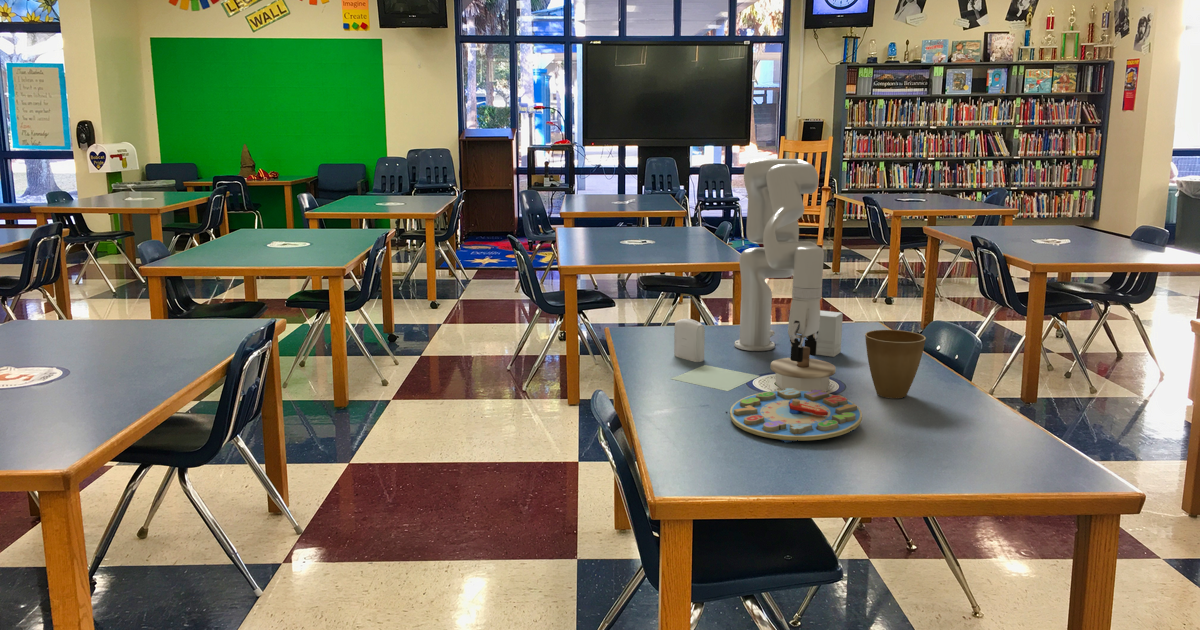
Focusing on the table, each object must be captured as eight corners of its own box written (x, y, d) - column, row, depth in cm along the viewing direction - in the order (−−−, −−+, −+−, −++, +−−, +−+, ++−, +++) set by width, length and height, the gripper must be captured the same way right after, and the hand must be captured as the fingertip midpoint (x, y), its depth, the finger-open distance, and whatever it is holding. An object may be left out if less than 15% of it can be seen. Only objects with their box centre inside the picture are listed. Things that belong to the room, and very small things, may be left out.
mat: (704, 366, 257) (704, 364, 256) (760, 377, 246) (760, 375, 246) (670, 380, 243) (670, 378, 243) (727, 393, 232) (727, 391, 232)
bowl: (790, 377, 246) (791, 360, 245) (834, 386, 238) (835, 368, 237) (768, 388, 236) (769, 370, 235) (813, 398, 228) (815, 379, 227)
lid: (787, 357, 248) (789, 337, 246) (845, 368, 238) (847, 346, 236) (759, 370, 235) (760, 349, 233) (818, 382, 224) (820, 359, 223)
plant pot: (929, 393, 232) (935, 334, 228) (906, 407, 221) (911, 345, 218) (876, 382, 242) (880, 326, 238) (851, 394, 231) (855, 335, 227)
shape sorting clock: (706, 412, 218) (706, 389, 216) (808, 397, 230) (809, 375, 228) (777, 455, 190) (778, 428, 189) (889, 436, 202) (891, 411, 201)
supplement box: (841, 352, 274) (844, 312, 271) (833, 357, 267) (836, 316, 265) (818, 348, 277) (820, 309, 275) (810, 354, 271) (812, 314, 269)
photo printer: (671, 357, 267) (672, 317, 264) (681, 355, 270) (682, 315, 267) (696, 364, 259) (697, 323, 257) (706, 362, 262) (707, 321, 259)
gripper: (808, 286, 240) (804, 349, 244) (778, 296, 227) (775, 362, 231) (834, 289, 236) (830, 353, 240) (805, 299, 223) (801, 367, 226)
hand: (803, 357), depth 235 cm, fingers open, 7 cm apart
